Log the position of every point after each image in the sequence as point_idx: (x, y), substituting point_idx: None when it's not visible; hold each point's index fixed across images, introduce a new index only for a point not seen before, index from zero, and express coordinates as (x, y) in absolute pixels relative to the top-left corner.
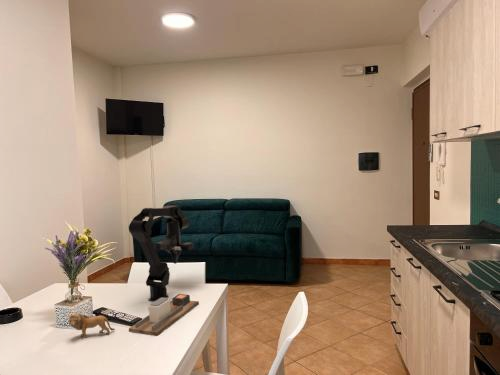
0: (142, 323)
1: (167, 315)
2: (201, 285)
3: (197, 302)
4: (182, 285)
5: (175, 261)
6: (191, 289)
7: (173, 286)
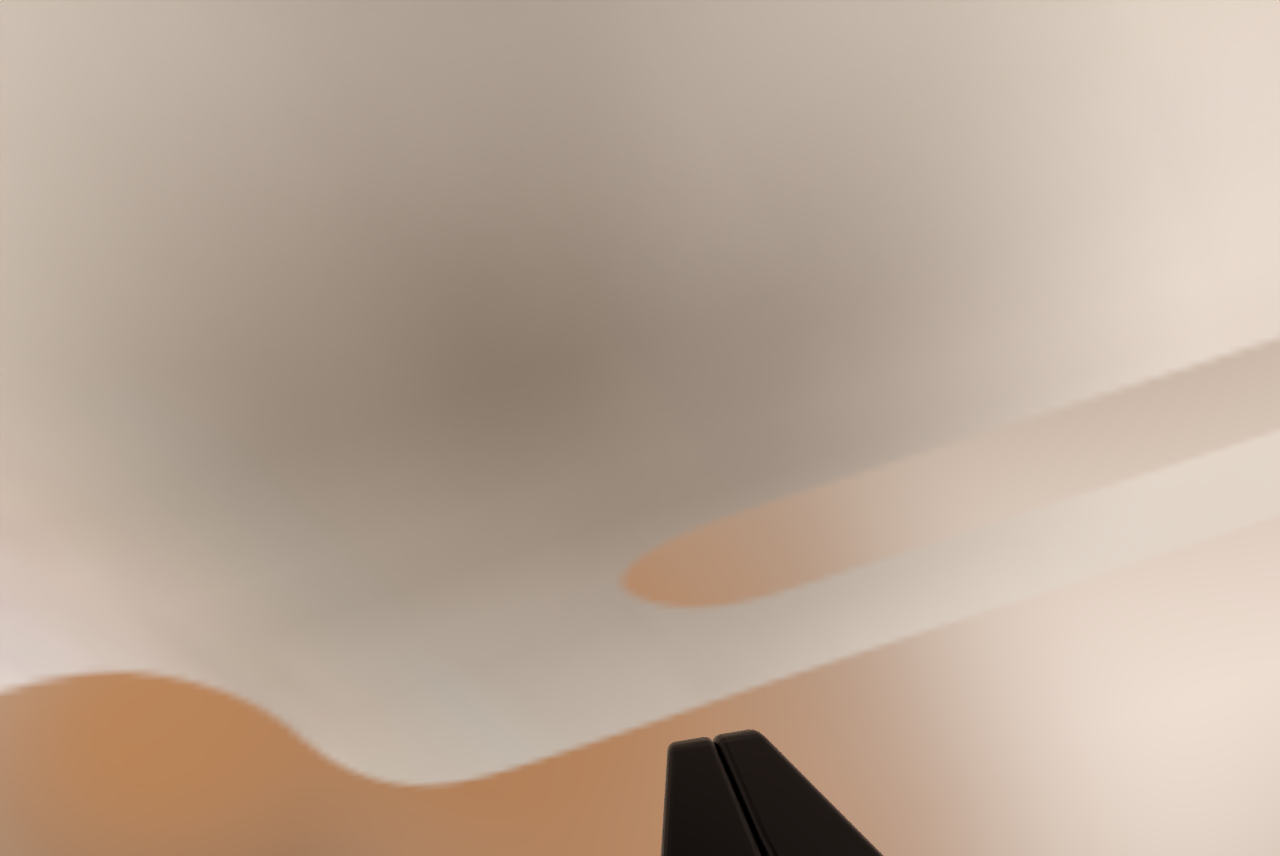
0: None
1: None
2: (56, 567)
3: None
4: (502, 427)
5: (670, 843)
6: (63, 275)
7: (672, 309)
